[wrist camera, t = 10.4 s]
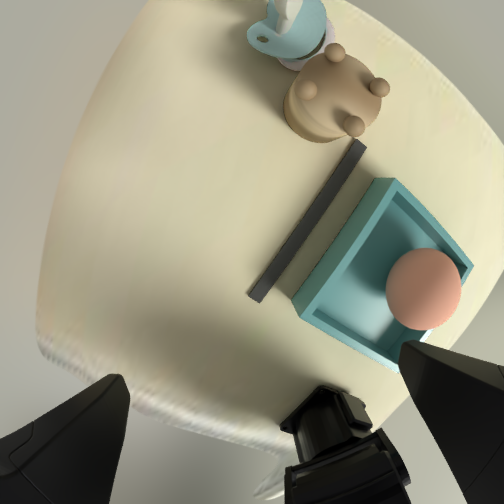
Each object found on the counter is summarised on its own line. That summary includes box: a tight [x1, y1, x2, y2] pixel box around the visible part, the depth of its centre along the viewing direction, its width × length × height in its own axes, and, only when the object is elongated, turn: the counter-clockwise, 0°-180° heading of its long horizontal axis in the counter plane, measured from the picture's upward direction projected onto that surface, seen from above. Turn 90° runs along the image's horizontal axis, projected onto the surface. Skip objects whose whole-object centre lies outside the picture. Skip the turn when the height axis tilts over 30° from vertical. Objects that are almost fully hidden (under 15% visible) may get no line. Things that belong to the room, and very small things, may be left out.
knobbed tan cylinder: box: [283, 43, 390, 143], centre depth 15 cm, size 5×5×6 cm
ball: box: [386, 248, 461, 330], centre depth 18 cm, size 6×6×6 cm
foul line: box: [248, 139, 367, 303], centre depth 20 cm, size 14×1×1 cm, turn 146°
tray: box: [291, 178, 474, 373], centre depth 20 cm, size 11×11×3 cm
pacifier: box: [247, 0, 335, 71], centre depth 14 cm, size 7×6×6 cm
